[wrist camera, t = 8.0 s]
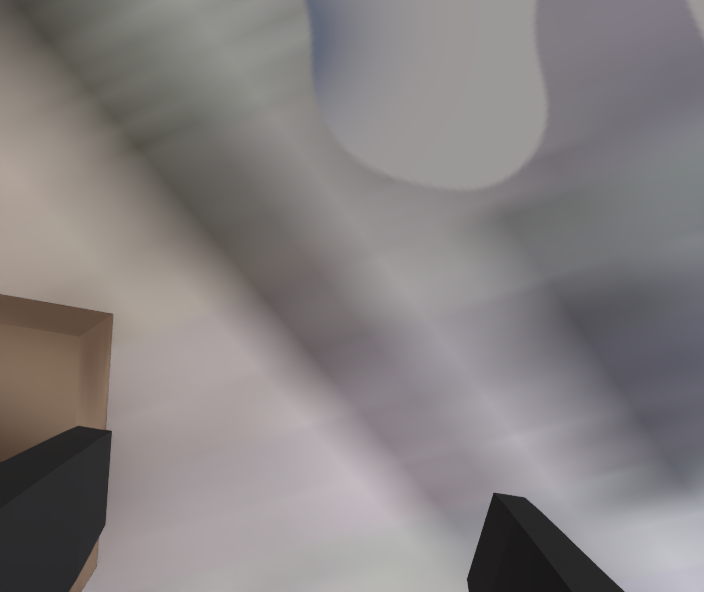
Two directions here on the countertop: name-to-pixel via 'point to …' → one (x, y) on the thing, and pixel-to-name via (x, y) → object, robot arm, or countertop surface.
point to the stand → (52, 377)
